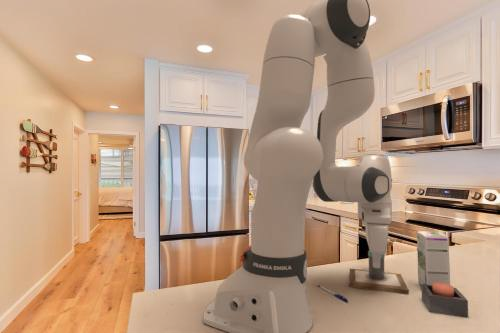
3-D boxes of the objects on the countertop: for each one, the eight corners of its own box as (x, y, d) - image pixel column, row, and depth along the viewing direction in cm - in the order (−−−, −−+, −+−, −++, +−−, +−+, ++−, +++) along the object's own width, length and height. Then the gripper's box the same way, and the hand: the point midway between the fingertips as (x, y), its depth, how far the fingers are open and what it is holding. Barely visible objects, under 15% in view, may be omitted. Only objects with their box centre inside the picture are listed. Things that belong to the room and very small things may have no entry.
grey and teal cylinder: (368, 278, 76) (368, 253, 76) (367, 273, 80) (367, 249, 80) (385, 281, 75) (385, 254, 75) (383, 275, 79) (383, 250, 79)
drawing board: (349, 286, 74) (349, 281, 74) (349, 271, 86) (349, 267, 86) (408, 294, 70) (408, 289, 70) (400, 277, 81) (400, 273, 81)
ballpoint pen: (349, 303, 65) (349, 298, 66) (346, 303, 65) (346, 299, 65) (319, 286, 75) (319, 283, 75) (316, 287, 74) (316, 283, 74)
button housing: (429, 311, 61) (429, 295, 61) (421, 298, 67) (421, 283, 67) (468, 317, 58) (467, 300, 58) (456, 302, 65) (455, 287, 65)
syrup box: (451, 294, 70) (450, 236, 70) (425, 292, 71) (424, 235, 71) (440, 285, 75) (439, 231, 76) (416, 283, 77) (416, 230, 77)
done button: (435, 297, 62) (435, 287, 62) (430, 290, 65) (430, 281, 66) (456, 300, 60) (456, 290, 60) (450, 293, 64) (450, 283, 64)
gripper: (360, 208, 89) (360, 251, 89) (364, 216, 70) (364, 272, 69) (382, 209, 87) (382, 253, 87) (392, 218, 68) (392, 275, 67)
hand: (374, 262), depth 78 cm, fingers open, 8 cm apart
